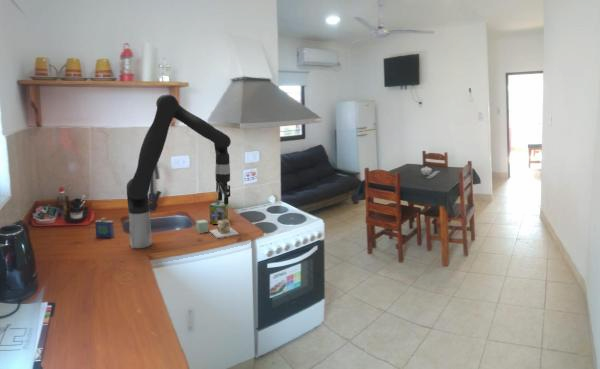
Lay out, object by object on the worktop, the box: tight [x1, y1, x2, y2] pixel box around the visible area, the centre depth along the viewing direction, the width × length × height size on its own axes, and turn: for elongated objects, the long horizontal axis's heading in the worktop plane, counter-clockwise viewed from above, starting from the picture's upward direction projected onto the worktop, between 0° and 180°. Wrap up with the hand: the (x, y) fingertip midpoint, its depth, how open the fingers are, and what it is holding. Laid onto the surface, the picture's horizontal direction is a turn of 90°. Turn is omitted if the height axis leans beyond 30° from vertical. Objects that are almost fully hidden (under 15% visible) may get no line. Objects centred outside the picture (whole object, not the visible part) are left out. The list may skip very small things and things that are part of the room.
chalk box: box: [208, 197, 229, 224], centre depth 215 cm, size 9×9×15 cm
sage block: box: [195, 219, 209, 234], centre depth 200 cm, size 5×5×6 cm
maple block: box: [217, 219, 231, 234], centre depth 197 cm, size 5×5×6 cm
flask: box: [94, 217, 115, 240], centre depth 187 cm, size 9×3×11 cm, turn 87°
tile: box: [208, 226, 240, 239], centre depth 198 cm, size 12×12×1 cm
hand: (223, 202), depth 194 cm, fingers open, 8 cm apart
